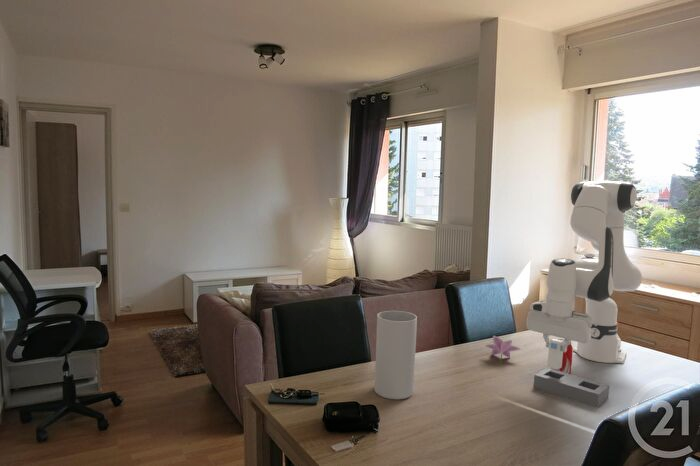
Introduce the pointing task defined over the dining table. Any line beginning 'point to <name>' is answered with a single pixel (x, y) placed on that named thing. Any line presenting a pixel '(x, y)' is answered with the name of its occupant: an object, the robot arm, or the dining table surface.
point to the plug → (555, 354)
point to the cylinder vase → (395, 354)
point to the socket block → (572, 387)
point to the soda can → (566, 359)
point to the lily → (502, 347)
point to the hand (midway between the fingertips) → (556, 349)
